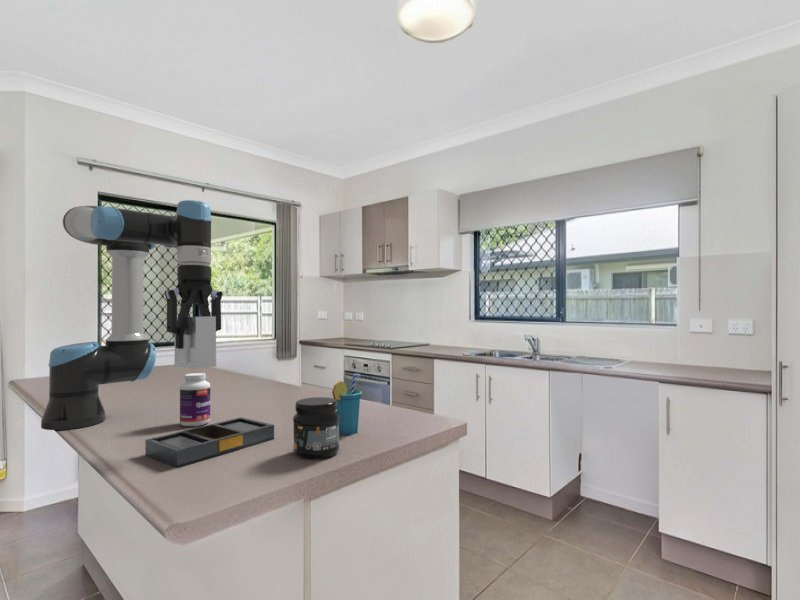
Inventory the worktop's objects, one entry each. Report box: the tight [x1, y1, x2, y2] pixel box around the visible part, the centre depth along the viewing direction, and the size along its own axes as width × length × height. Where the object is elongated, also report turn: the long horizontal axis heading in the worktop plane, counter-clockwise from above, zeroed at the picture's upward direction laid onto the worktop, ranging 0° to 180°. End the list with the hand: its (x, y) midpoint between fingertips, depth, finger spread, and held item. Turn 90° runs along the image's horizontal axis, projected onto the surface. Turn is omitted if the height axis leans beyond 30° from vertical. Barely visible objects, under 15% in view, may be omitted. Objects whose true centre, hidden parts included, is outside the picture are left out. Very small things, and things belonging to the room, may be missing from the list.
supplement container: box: [292, 396, 340, 461], centre depth 102 cm, size 10×10×12 cm
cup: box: [331, 373, 362, 436], centre depth 120 cm, size 14×8×15 cm, turn 161°
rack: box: [144, 416, 275, 469], centre depth 107 cm, size 14×25×4 cm, turn 144°
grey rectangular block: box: [173, 316, 217, 370], centre depth 107 cm, size 10×5×12 cm, turn 53°
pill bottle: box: [179, 372, 211, 428], centre depth 128 cm, size 8×8×14 cm
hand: (195, 361), depth 107 cm, fingers closed on grey rectangular block, 5 cm apart
